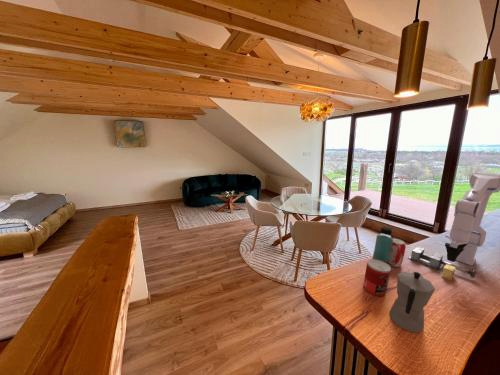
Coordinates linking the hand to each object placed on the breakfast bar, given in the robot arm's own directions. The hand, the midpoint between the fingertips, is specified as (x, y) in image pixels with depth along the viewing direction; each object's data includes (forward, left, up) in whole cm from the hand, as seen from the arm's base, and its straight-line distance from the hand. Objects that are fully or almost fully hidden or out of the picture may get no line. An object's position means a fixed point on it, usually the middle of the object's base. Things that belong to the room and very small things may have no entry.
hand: (452, 257), depth 90 cm
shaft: (-6, 0, -8) cm, 10 cm away
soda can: (+9, -18, -9) cm, 22 cm away
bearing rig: (-7, -9, -9) cm, 15 cm away
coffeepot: (+43, -2, -9) cm, 45 cm away
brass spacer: (0, 0, -9) cm, 9 cm away
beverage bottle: (+19, -20, -9) cm, 29 cm away
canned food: (+35, -15, -9) cm, 40 cm away
